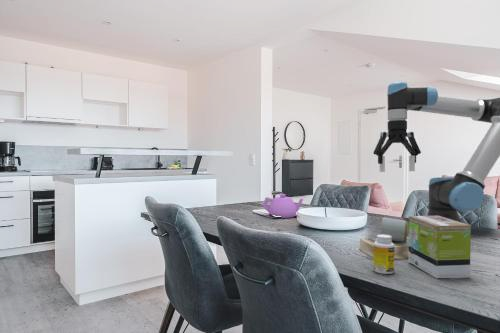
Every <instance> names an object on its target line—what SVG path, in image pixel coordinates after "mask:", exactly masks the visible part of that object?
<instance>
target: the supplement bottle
mask: <svg viewBox="0 0 500 333" xmlns="http://www.w3.org/2000/svg"><path fill="white" fill-rule="evenodd" d="M376 238H377V241H376V242H374V256H373V257H372V259H373V260H372V263H373V264H372V266H373V271H374V272H375V273H378V274H381V275H391V274H393V273H394V271H395V259H394V244H393V243H392V236H390V235H383V234H382V235H381V234H377V235H376Z"/></svg>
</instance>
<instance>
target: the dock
mask: <svg viewBox="0 0 500 333" xmlns="http://www.w3.org/2000/svg"><path fill="white" fill-rule="evenodd" d="M376 241H377V237H369V238H359V250H360V252H362V253H364V254H366V255H368V256H369V257H371V258H373V256H374V242H376ZM392 243H393V244H394V260H405V259H408V260H409V236H407V241H406V242H396V241H392Z"/></svg>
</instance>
